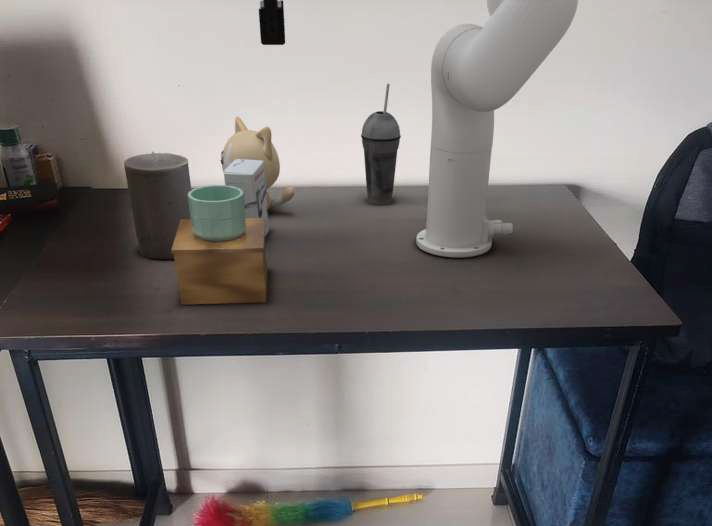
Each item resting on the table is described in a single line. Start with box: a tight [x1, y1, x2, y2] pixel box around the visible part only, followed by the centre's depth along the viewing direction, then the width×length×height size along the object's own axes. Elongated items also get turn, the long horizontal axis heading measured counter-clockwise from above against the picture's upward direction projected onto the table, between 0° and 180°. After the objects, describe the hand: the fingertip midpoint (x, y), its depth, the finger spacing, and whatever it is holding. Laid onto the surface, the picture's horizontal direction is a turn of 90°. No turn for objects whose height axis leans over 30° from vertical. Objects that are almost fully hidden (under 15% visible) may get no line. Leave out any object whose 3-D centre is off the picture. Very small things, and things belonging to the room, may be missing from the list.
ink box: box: [223, 159, 270, 237], centre depth 126 cm, size 9×5×12 cm, turn 174°
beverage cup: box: [360, 83, 402, 206], centre depth 140 cm, size 7×7×20 cm
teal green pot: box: [188, 184, 246, 241], centre depth 107 cm, size 8×8×6 cm
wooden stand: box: [171, 218, 268, 306], centre depth 111 cm, size 12×12×8 cm
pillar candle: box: [123, 151, 192, 260], centre depth 121 cm, size 10×10×15 cm
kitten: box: [219, 116, 296, 211], centre depth 137 cm, size 15×10×15 cm
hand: (273, 39), depth 105 cm, fingers open, 9 cm apart
